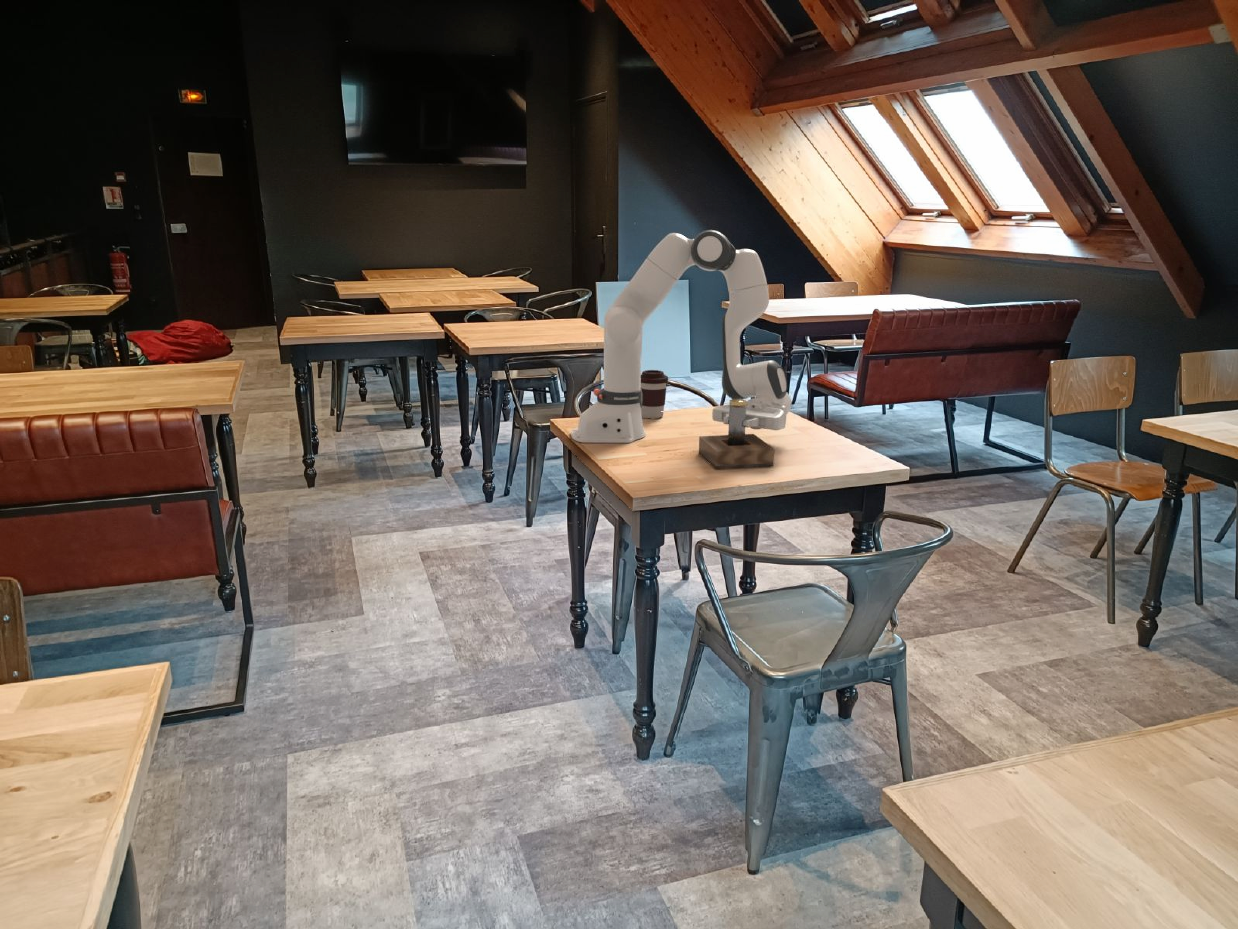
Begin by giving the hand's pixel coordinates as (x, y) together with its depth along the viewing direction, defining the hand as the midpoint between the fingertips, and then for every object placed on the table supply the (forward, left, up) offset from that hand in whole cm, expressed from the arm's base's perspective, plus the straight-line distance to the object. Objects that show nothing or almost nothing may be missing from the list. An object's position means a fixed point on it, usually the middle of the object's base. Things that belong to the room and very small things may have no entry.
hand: (735, 422), depth 241 cm
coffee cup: (-9, +55, -11) cm, 56 cm away
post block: (+1, +1, -11) cm, 11 cm away
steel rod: (+1, +1, -8) cm, 8 cm away
